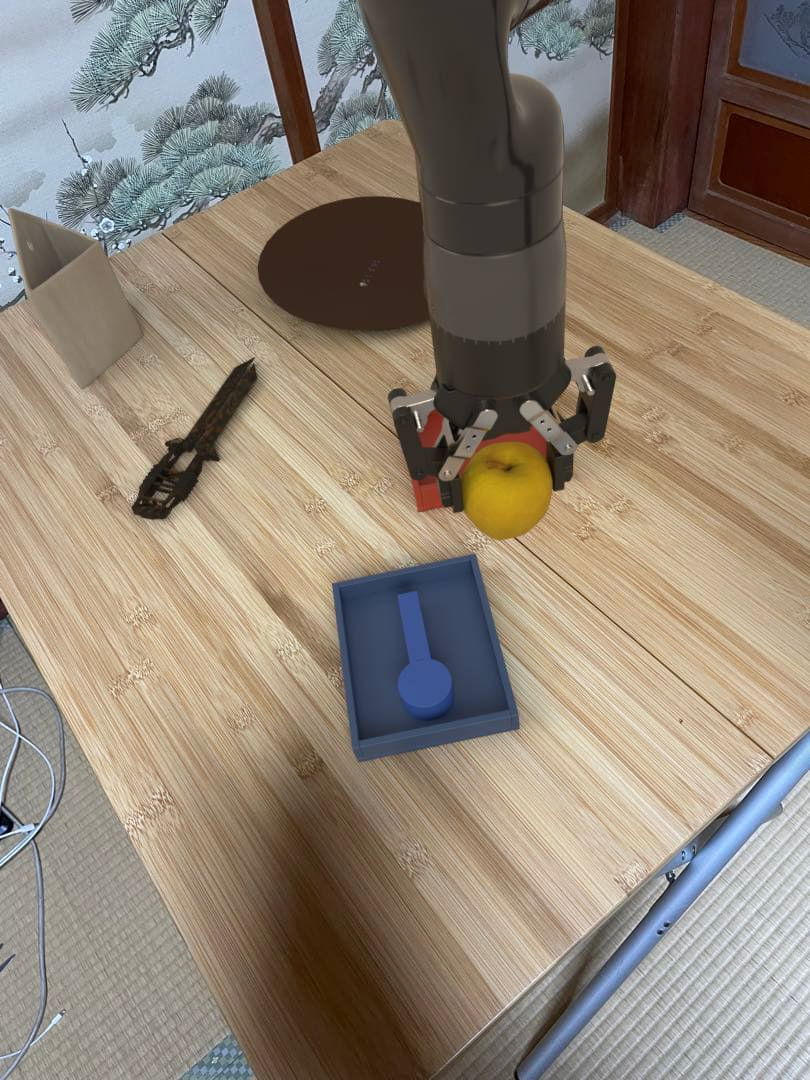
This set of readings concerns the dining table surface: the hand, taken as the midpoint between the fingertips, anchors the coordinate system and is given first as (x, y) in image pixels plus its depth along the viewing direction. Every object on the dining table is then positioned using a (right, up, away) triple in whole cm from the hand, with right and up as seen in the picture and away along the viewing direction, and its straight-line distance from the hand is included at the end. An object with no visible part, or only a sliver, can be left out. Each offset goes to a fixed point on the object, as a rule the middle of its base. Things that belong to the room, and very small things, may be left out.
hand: (505, 492), depth 58 cm
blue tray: (-6, -14, +13) cm, 20 cm away
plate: (-11, +31, +50) cm, 60 cm away
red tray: (+1, +6, +28) cm, 28 cm away
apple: (+1, -2, +3) cm, 4 cm away
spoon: (-6, -14, +13) cm, 19 cm away
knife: (-29, +8, +35) cm, 46 cm away
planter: (-44, +22, +48) cm, 69 cm away
